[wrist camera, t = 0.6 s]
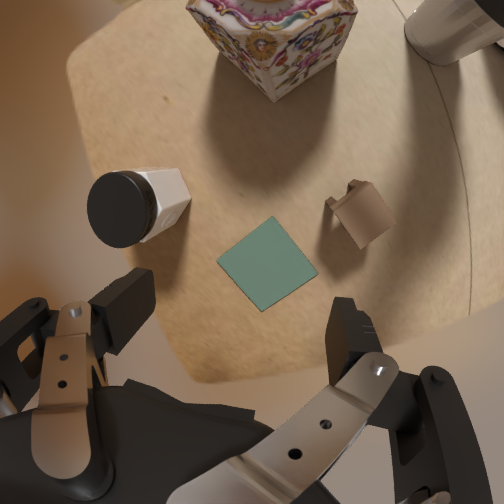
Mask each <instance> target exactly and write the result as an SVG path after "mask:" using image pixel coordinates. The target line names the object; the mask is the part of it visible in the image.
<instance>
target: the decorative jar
mask: <svg viewBox="0 0 504 504" xmlns="http://www.w3.org/2000/svg"><path fill="white" fill-rule="evenodd" d="M186 10H188V11H189V12H190V14H191V15H192V17H193V18H194V19H195V21H196V22H197V23H198V25H199V26H200V27H201V28H202V29H203V31H204V32H205V34H206V35H207V37H208V38H209V39H210V40H211V42H212V43H213V44H214V45H215V47H216V48H217V49H218V50H219V51H220V52H221V53H222V54H223V55H224V56H225V57H227V58H228V59H229V60H230V61H231V62H232V63H233V64H234V65H235V66H236V67H238V68H239V69H240V70H241V71H242V72H243V73H244V74H245V75H246V76H247V77H248V78H249V79H250V80H251V81H252V82H253V83H254V84H255V85H256V86H257V87H258V88H259V89H260V90H261V91H262V92H263V93H264V94H265V95H266V96H267V97H268V98H269V99H270V100H271V101H272V102H274V103H275V102H277V101H278V100H279V99H280V98H282V97H283V96H284V95H286V94H287V93H289V92H290V91H291V90H293V89H294V88H296V87H297V86H298V85H300V84H301V83H303V82H304V81H305V80H307V79H308V78H310V77H311V76H313V75H314V74H316V73H317V72H319V71H320V70H322V69H323V68H325V67H326V66H327V65H329V64H330V63H332V62H333V61H335V60H336V59H337V58H338V56H339V54H340V52H341V50H342V48H343V46H344V44H345V42H346V40H347V38H348V35H349V32H350V30H351V28H352V25H353V23H354V20H355V17H356V14H357V13H358V9H357V7H356V5H355V4H354V2H353V0H189V1H188V2H187V5H186Z"/></svg>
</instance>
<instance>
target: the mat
mask: <svg viewBox="0 0 504 504" xmlns="http://www.w3.org/2000/svg"><path fill="white" fill-rule="evenodd" d="M216 261H217V262H218V263H219V264H220V265H221V267H222V268H223V269H224V270H225V271H226V272H227V273H228V275H229V276H230V277H231V278H232V279H233V280H234V281H235V282H236V284H237V285H238V286H239V287H240V288H241V289H242V290H243V291H244V293H245V294H246V295H247V296H248V297H249V298H250V299H251V300H252V301H253V303H254V304H255V305H256V306H257V307H258V308H259V309H260V310H261V311H263V310H265V309H266V308H268V307H269V306H271V305H272V304H274V303H275V302H277V301H278V300H280V299H282V298H283V297H285V296H286V295H288V294H289V293H291V292H292V291H294V290H295V289H297V288H298V287H299V286H301V285H302V284H304V283H305V282H307V281H308V280H310V279H311V278H313V277H314V276H316V275H317V274H318V272H317V271H316V270H315V268H314V267H313V266H312V265H311V263H310V262H309V261H308V259H307V258H306V257H305V256H304V254H303V253H302V252H301V250H300V249H299V248H298V247H297V245H296V244H295V243H294V242H293V240H292V239H291V238H290V237H289V235H288V234H287V233H286V232H285V230H284V229H283V228H282V227H281V225H280V224H279V223H278V222H277V220H276V219H275V218H274V217H273V216H272V217H271V218H269V219H268V220H267V221H266V222H264V223H263V224H262V225H260V226H259V227H258V228H257V229H255V230H254V231H253V232H251V233H250V234H249V235H248V236H246V237H245V238H244V239H243V240H241V241H240V242H239V243H237V244H236V245H235V246H234V247H232V248H231V249H230V250H229V251H227V252H226V253H225V254H224V255H222V256H221V257H220V258H218V259H217V260H216Z"/></svg>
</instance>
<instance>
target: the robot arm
mask: <svg viewBox="0 0 504 504" xmlns="http://www.w3.org/2000/svg"><path fill="white" fill-rule="evenodd" d="M404 29H405V34H406V37H407V39H408V41H409V43H410V44H411V46H412V47H413V48H414V49H415V51H416V52H417V53H418V54H419V55H421V56H422V57H423V58H424V59H426V60H427V61H429V62H431V63H433V64H435V65H439V66H447V65H450V64H451V63H453V62H455V61H457V60H459V59H461V58H463V57H465V56H467V55H469V54H471V53H474V52H476V51H478V50H480V49H482V48H484V47H486V46H488V45H490V44H493V43H495V42H497V41H499V40H502V39H504V0H424V2H423V3H422V4H421V5H420V6H419V7H418V8H417V9H416V10H415V11H414V13H413V14H412V15H411V16H410V17H409V18H408V19H407V20H406V23H405V27H404ZM155 305H156V298H155V288H154V276H153V272H152V271H151V270H148V269H142V268H134V269H133V270H132V271H130V272H129V273H128V274H127V275H125V276H123V277H121V278H119V279H116V280H115V281H113V282H112V283H111V284H109V286H107V287H106V288H104V290H102V291H100V292H99V293H98V294H97V295H95V296H94V297H93V298H92V299H90V300H89V301H88V302H85V301H73V302H69V303H67V304H65V305H64V306H63V307H62V308H61V309H60V311H58V310H50V309H49V306H48V303H47V300H46V299H44V298H40V297H37V298H32V299H29V300H27V301H26V302H24V303H23V304H22V305H20V306H19V307H18V308H16V309H15V310H14V311H13V312H11V313H10V314H9V315H7V316H6V317H5V318H4V319H3V320H1V321H0V504H340V503H339V502H338V500H337V499H336V498H335V497H334V496H333V495H332V494H331V493H330V492H329V491H328V489H327V488H326V487H325V486H324V485H323V484H322V483H321V480H322V479H323V478H324V477H325V476H326V475H327V474H328V473H329V472H330V471H331V469H332V468H333V467H334V466H335V465H336V464H337V462H338V461H339V460H340V459H341V458H342V456H343V455H344V454H345V453H346V452H347V450H348V449H349V448H350V447H351V446H352V444H353V443H354V442H355V440H356V439H357V438H358V436H359V435H360V434H361V432H362V431H363V430H364V429H365V427H366V426H367V425H372V426H377V427H381V428H385V429H388V431H389V438H390V446H391V455H392V465H393V477H394V491H395V504H493V501H492V495H491V490H490V485H489V481H488V477H487V472H486V468H485V465H484V461H483V457H482V454H481V451H480V447H479V444H478V441H477V438H476V435H475V432H474V429H473V426H472V423H471V421H470V418H469V415H468V413H467V410H466V408H465V405H464V403H463V400H462V398H461V395H460V393H459V391H458V388H457V386H456V384H455V381H454V379H453V377H452V376H451V374H449V372H447V371H446V370H445V369H443V368H441V367H438V366H427V367H425V368H424V369H423V370H422V371H421V373H420V375H419V376H418V375H414V374H409V373H405V372H402V371H399V366H398V364H397V362H396V361H395V360H394V359H393V358H392V357H390V356H389V355H387V354H384V353H383V350H382V348H381V345H380V342H379V340H378V337H377V334H375V333H376V332H375V329H374V327H373V324H372V321H371V319H370V317H369V316H368V315H367V314H366V313H365V312H364V311H359V310H357V309H356V306H355V303H354V300H353V298H345V297H335V298H334V301H333V305H332V309H331V313H330V316H329V320H328V324H327V328H326V334H325V345H326V354H327V363H328V372H329V385H327V386H326V387H325V388H323V389H322V390H321V392H319V393H318V394H317V395H316V396H315V397H314V398H313V399H312V400H311V401H310V402H308V404H306V405H305V406H304V407H303V408H302V409H300V410H299V411H298V412H297V413H296V414H295V415H293V416H292V417H291V418H290V419H289V420H287V421H286V422H285V423H284V424H283V425H281V426H280V427H279V428H278V429H276V430H273V429H272V428H270V427H269V426H267V425H265V424H263V423H261V422H258V421H256V420H254V415H255V410H249V409H243V408H237V407H232V406H227V405H222V404H191V403H183V402H181V401H179V400H177V399H175V398H173V397H171V396H170V395H168V394H166V393H164V392H162V391H160V390H159V389H157V388H155V387H152V386H149V385H145V384H143V383H139V382H136V381H134V380H131V379H127V381H126V382H125V384H124V385H123V386H109V384H108V377H107V370H106V360H105V357H104V354H105V353H106V352H108V353H111V354H114V355H116V356H117V355H118V354H119V353H120V351H121V350H122V349H123V348H124V346H125V345H126V344H127V343H128V342H129V340H130V339H131V338H132V337H133V336H134V334H135V333H136V332H137V331H138V330H139V329H140V327H141V326H142V325H143V324H144V322H145V321H146V320H147V319H148V318H149V317H150V316H151V314H152V313H153V311H154V309H155ZM29 336H31V339H32V341H33V344H34V346H35V349H34V350H33V351H32V352H31V353H30V354H29V355H28V356H27V357H26V358H25V359H24V360H23V361H22V362H20V360H19V358H18V355H17V350H18V347H19V345H20V344H21V343H22V342H23V341H24V340H26V339H27V338H28V337H29ZM38 389H40V390H39V400H38V407H37V408H34V409H30V410H27V411H23V412H21V411H22V410H23V408H24V407H25V406H26V404H27V403H28V402H29V401H30V399H31V398H32V397H33V396H34V394H35V393H36V392H37V391H38Z"/></svg>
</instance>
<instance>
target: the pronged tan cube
mask: <svg viewBox="0 0 504 504" xmlns="http://www.w3.org/2000/svg"><path fill="white" fill-rule="evenodd" d="M348 184H349V186H350V187H351V189H352V191H350V192H349V193H348V194H346V195H345V196H344V197H342V198H341V199H340V200H338V201H336V200H335V199H334V198H333V197H330V198H328V199H327V200H326V203H327V204H328V205H329V207H330V208H331V209H332V211H333V212H334V213H335V215H336V216H337V218H338V219H339V220H340V222H341V223H342V225H343V226H344V228H345V229H346V230H347V232H348V233H349V235H350V236H351V238H352V239H353V240H354V242H355V243H356V244H357V246H358V247H359V248H360V250H361V249H362V248H364V247H365V246H366V245H368V244H369V243H370V242H372V241H373V240H374V239H376V238H377V237H378V236H380V235H381V234H382V233H383V232H385V231H386V230H387V229H389V228H390V227H391V226H393V225H394V224H395V223H396V220H395V218H394V217H393V215H392V213H391V212H390V210H389V208H388V207H387V205H386V204H385V202H384V200H383V199H382V197H381V196H380V194H379V193H378V191H377V190H376V188H375V187H374V185H373V184H372V183H371V182H367V181H363V182H362V181H358V180H355V179H354V180H352V181H351V182H350V183H348Z"/></svg>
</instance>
